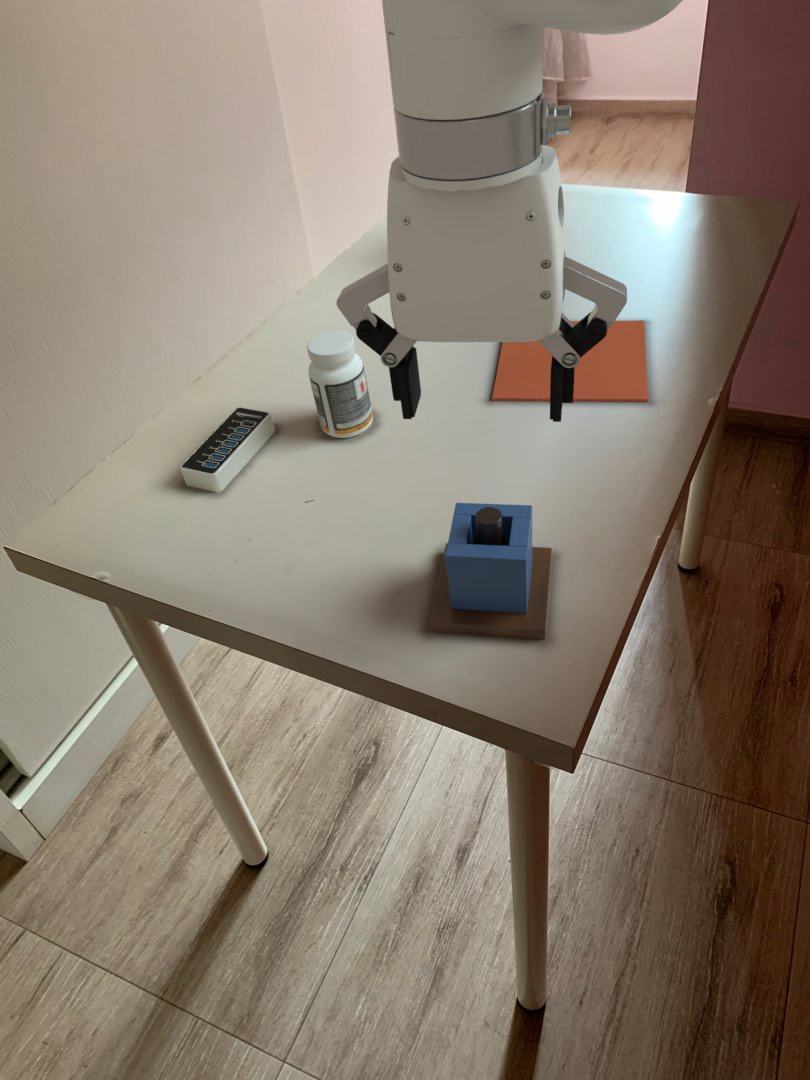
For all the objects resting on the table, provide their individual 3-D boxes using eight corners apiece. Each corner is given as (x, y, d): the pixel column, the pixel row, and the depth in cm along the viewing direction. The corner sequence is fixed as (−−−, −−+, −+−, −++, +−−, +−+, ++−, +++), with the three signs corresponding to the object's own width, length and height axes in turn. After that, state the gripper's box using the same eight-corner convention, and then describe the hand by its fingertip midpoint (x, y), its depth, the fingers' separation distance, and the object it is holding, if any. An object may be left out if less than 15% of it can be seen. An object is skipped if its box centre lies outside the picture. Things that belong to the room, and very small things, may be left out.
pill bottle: (381, 411, 87) (367, 329, 80) (362, 443, 83) (346, 359, 77) (333, 406, 89) (316, 325, 82) (312, 437, 85) (292, 355, 78)
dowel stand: (551, 557, 69) (552, 478, 63) (545, 640, 62) (546, 561, 56) (447, 552, 70) (438, 475, 65) (430, 632, 64) (419, 554, 58)
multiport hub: (184, 485, 82) (177, 467, 80) (242, 423, 89) (237, 405, 87) (220, 493, 80) (213, 475, 79) (276, 429, 87) (271, 412, 85)
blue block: (532, 559, 67) (532, 505, 63) (527, 614, 63) (526, 559, 59) (461, 555, 68) (455, 502, 64) (450, 609, 64) (444, 555, 60)
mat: (644, 323, 94) (644, 320, 94) (648, 402, 83) (648, 399, 83) (506, 325, 97) (506, 322, 97) (492, 401, 86) (492, 398, 86)
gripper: (639, 102, 43) (617, 378, 55) (327, 121, 46) (369, 376, 58) (643, 153, 38) (617, 446, 49) (291, 170, 41) (345, 440, 53)
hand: (483, 408), depth 54 cm, fingers open, 9 cm apart
